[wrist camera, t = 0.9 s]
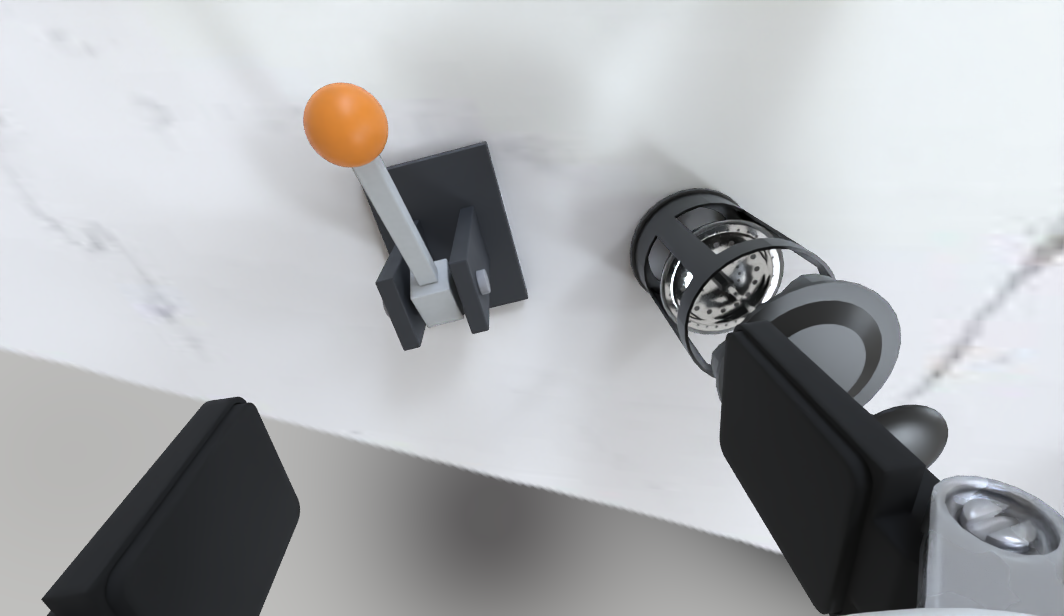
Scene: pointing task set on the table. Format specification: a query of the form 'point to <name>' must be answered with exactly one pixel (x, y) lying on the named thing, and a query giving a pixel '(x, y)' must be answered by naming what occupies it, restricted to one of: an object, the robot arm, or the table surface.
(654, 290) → the french press
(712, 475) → the table surface
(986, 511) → the robot arm
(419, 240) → the switch lever
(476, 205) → the switch bracket
